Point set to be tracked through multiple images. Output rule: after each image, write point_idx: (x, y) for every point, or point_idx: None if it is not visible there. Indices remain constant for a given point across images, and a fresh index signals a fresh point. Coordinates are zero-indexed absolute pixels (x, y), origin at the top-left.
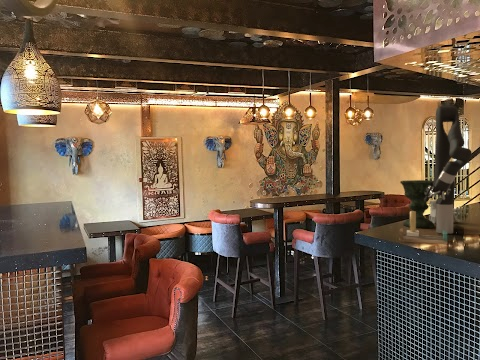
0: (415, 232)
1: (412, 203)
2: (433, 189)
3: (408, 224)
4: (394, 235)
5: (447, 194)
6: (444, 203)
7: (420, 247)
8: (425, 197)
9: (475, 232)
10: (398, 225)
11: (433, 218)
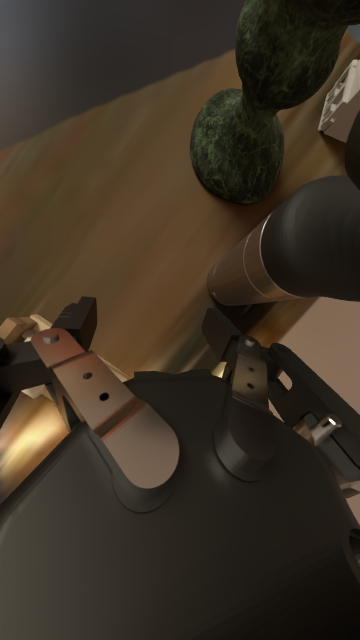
0: (26, 389)
1: (257, 1)
2: (62, 459)
3: (193, 146)
4: (47, 269)
5: (285, 406)
6: (280, 283)
7: (10, 449)
8: (57, 323)
9: (306, 311)
10: (181, 111)
11: (340, 100)
